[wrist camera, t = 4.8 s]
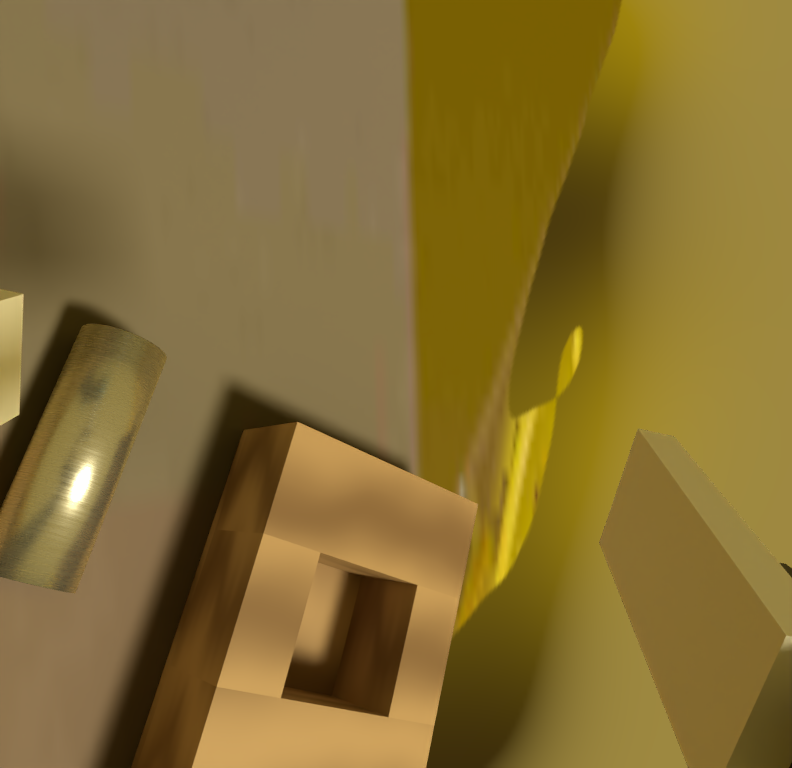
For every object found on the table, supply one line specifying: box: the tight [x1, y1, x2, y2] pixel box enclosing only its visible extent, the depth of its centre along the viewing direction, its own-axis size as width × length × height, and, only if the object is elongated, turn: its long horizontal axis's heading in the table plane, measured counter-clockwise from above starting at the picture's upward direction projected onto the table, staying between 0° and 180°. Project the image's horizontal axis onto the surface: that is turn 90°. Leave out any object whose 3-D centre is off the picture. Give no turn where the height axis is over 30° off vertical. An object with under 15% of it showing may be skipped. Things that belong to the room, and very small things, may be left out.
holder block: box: [131, 422, 478, 768], centre depth 32 cm, size 20×12×5 cm, turn 162°
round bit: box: [0, 324, 167, 593], centre depth 28 cm, size 10×4×4 cm
